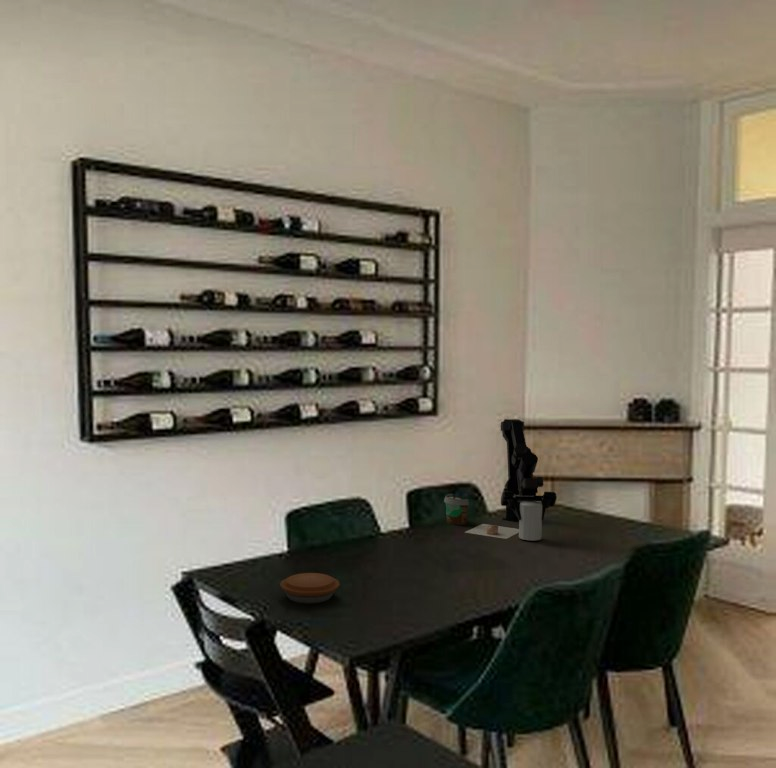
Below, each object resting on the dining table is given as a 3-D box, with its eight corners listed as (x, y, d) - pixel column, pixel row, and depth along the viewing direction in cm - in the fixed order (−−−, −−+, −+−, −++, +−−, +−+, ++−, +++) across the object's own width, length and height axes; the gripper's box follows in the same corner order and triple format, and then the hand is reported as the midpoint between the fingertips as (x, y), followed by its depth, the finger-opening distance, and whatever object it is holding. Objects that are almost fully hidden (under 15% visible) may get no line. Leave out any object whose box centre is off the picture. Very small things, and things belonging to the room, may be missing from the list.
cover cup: (523, 533, 271) (524, 500, 271) (544, 537, 268) (545, 502, 267) (515, 538, 265) (516, 503, 264) (536, 541, 261) (537, 506, 261)
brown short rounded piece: (489, 531, 276) (490, 524, 276) (500, 533, 274) (500, 526, 274) (484, 533, 273) (484, 526, 273) (494, 535, 271) (494, 528, 271)
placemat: (482, 524, 288) (482, 523, 288) (523, 530, 280) (523, 529, 280) (464, 533, 275) (464, 532, 275) (506, 539, 266) (506, 538, 266)
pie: (268, 596, 203) (268, 577, 203) (314, 584, 214) (314, 566, 214) (304, 611, 192) (305, 591, 192) (351, 597, 203) (351, 579, 203)
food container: (437, 520, 294) (438, 494, 293) (451, 519, 296) (452, 493, 296) (453, 527, 282) (454, 500, 282) (468, 526, 285) (469, 499, 284)
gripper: (502, 468, 269) (507, 506, 258) (556, 468, 269) (563, 507, 259) (498, 486, 277) (502, 524, 267) (550, 487, 277) (556, 524, 267)
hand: (531, 519), depth 265 cm, fingers closed on cover cup, 7 cm apart
